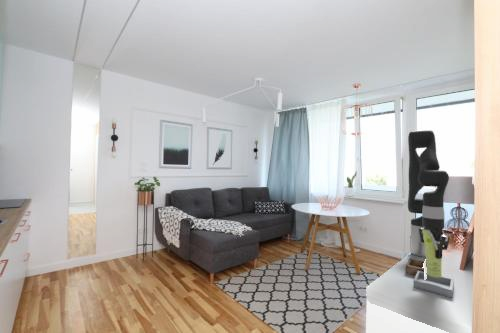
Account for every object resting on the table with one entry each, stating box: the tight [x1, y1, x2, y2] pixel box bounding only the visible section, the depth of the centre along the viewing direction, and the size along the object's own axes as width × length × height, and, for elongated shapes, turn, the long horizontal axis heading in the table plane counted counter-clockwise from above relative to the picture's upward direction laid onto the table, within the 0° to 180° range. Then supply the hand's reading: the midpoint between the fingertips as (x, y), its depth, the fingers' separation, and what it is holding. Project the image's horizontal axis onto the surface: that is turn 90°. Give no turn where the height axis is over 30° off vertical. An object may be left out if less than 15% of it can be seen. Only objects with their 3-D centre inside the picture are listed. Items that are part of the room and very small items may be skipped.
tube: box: [422, 229, 445, 278], centre depth 102 cm, size 6×5×20 cm
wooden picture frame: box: [405, 257, 425, 277], centre depth 115 cm, size 12×12×4 cm
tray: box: [413, 271, 455, 299], centre depth 102 cm, size 13×13×3 cm
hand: (433, 255), depth 102 cm, fingers closed on tube, 4 cm apart
